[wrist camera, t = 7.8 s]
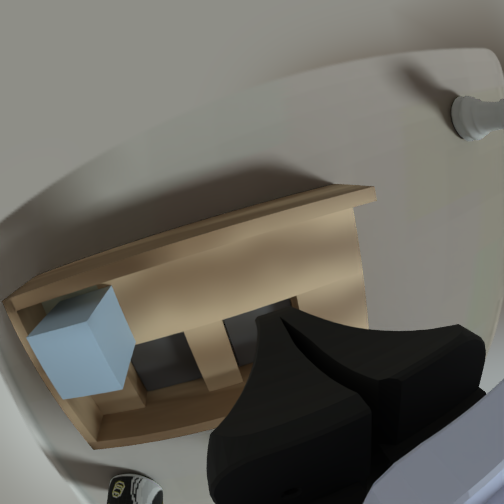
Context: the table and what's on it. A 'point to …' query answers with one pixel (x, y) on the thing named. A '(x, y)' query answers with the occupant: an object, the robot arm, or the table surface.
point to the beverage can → (134, 490)
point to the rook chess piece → (476, 117)
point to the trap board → (204, 307)
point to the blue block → (84, 344)
